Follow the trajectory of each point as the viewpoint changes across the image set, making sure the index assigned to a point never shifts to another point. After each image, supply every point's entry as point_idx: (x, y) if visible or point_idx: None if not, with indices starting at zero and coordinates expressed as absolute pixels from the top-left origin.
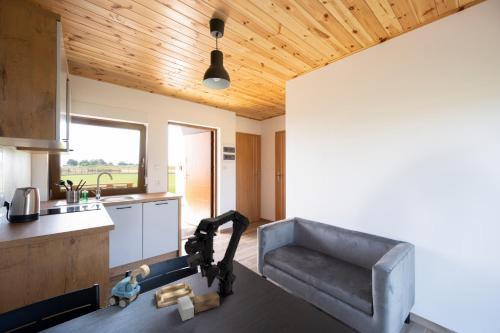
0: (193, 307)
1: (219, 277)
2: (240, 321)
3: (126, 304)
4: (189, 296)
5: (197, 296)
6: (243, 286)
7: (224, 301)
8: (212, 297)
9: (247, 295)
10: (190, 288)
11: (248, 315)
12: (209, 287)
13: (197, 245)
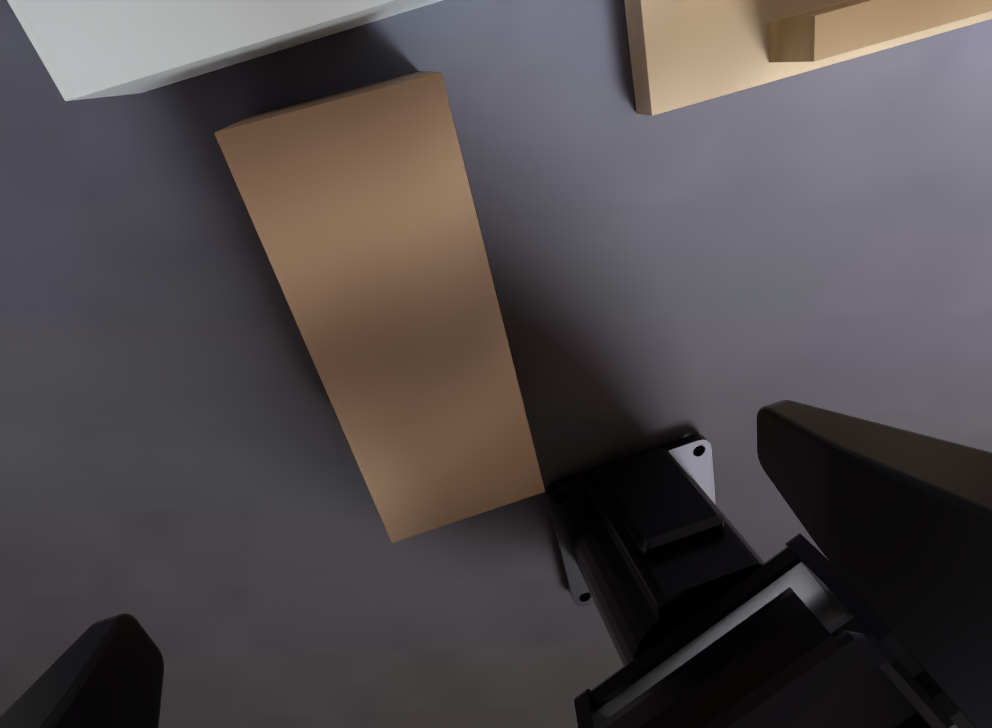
0: (68, 90)
1: (707, 671)
2: None
3: None
4: (670, 14)
5: (455, 182)
6: None
7: None
8: (377, 449)
9: (510, 704)
10: (836, 30)
11: (172, 723)
12: (122, 645)
13: None
